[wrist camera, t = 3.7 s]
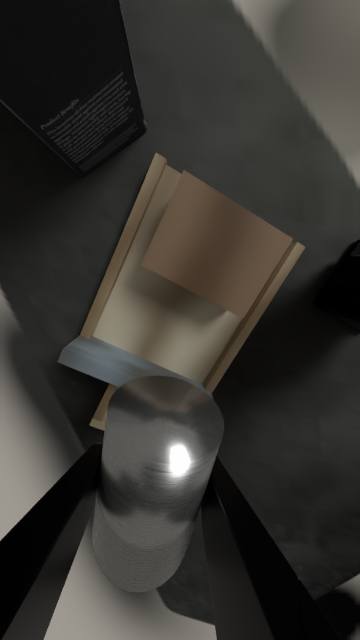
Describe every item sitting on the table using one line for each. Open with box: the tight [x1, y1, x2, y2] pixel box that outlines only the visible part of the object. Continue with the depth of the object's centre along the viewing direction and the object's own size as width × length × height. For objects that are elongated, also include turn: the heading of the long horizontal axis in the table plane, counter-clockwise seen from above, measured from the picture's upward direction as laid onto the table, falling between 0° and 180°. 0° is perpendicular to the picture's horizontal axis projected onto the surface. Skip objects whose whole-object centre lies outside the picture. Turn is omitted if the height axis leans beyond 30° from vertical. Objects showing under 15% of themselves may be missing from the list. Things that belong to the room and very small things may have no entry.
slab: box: [141, 170, 293, 319], centre depth 14 cm, size 8×6×4 cm
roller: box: [92, 376, 224, 592], centre depth 7 cm, size 4×5×4 cm
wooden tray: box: [58, 153, 305, 431], centre depth 16 cm, size 13×22×4 cm, turn 152°
